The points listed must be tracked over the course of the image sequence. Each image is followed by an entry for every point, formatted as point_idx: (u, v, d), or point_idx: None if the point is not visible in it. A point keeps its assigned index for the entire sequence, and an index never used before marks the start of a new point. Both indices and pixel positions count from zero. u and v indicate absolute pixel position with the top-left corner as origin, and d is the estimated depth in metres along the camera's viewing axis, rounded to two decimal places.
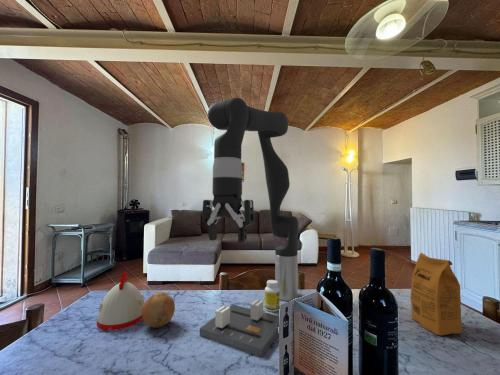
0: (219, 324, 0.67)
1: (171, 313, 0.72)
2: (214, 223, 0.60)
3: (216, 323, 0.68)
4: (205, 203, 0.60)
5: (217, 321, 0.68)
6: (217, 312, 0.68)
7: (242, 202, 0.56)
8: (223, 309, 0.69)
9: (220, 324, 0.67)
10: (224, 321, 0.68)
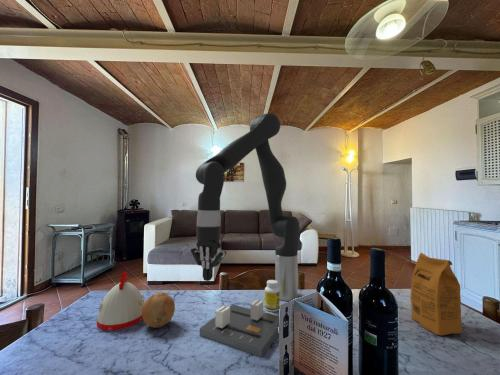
0: (219, 324, 0.67)
1: (171, 313, 0.72)
2: None
3: (216, 323, 0.68)
4: (193, 251, 0.75)
5: (217, 321, 0.68)
6: (217, 312, 0.68)
7: (218, 250, 0.71)
8: (223, 309, 0.69)
9: (220, 324, 0.67)
10: (224, 321, 0.68)
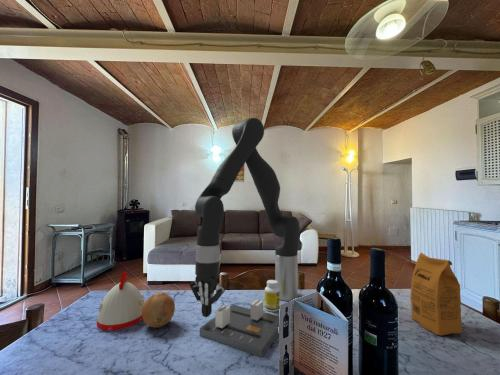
0: (219, 324, 0.67)
1: (171, 313, 0.72)
2: None
3: (216, 323, 0.68)
4: (191, 285, 0.74)
5: (217, 321, 0.68)
6: (217, 312, 0.68)
7: (217, 286, 0.70)
8: (223, 309, 0.69)
9: (220, 324, 0.67)
10: (224, 321, 0.68)
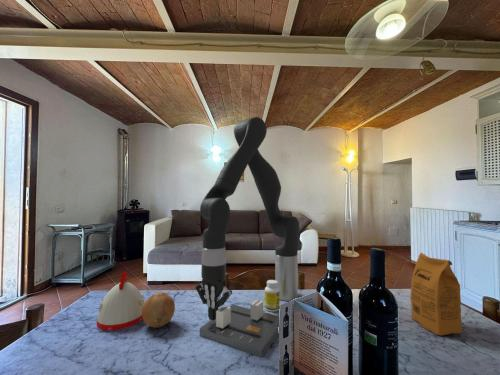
0: (220, 324, 0.67)
1: (171, 313, 0.72)
2: None
3: (217, 323, 0.68)
4: (198, 288, 0.73)
5: (218, 321, 0.68)
6: (218, 312, 0.68)
7: (224, 289, 0.69)
8: (224, 309, 0.69)
9: (220, 324, 0.67)
10: (224, 321, 0.68)
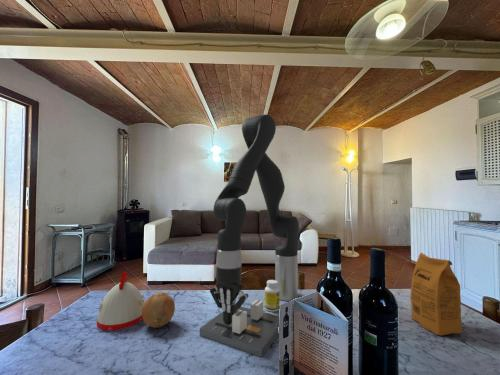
0: (236, 329, 0.65)
1: (171, 313, 0.72)
2: None
3: (233, 328, 0.65)
4: (212, 291, 0.70)
5: (234, 326, 0.65)
6: (234, 317, 0.65)
7: (240, 293, 0.67)
8: (240, 314, 0.66)
9: (237, 329, 0.65)
10: (241, 326, 0.65)
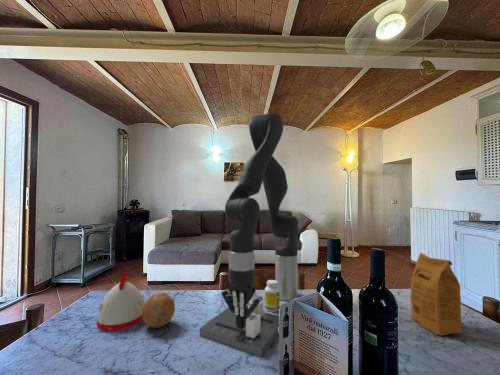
0: (250, 334, 0.63)
1: (171, 313, 0.72)
2: None
3: (247, 333, 0.63)
4: (224, 294, 0.68)
5: (248, 330, 0.63)
6: (248, 321, 0.63)
7: (254, 296, 0.65)
8: (254, 317, 0.64)
9: (251, 334, 0.62)
10: (255, 330, 0.63)
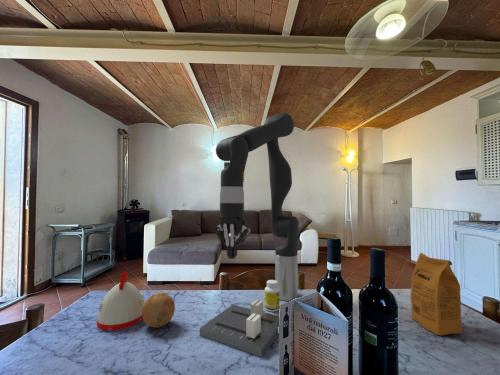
0: (251, 334, 0.63)
1: (171, 313, 0.72)
2: None
3: (247, 333, 0.63)
4: (216, 229, 0.73)
5: (248, 331, 0.63)
6: (248, 321, 0.63)
7: (243, 227, 0.69)
8: (254, 317, 0.64)
9: (251, 334, 0.62)
10: (255, 330, 0.63)
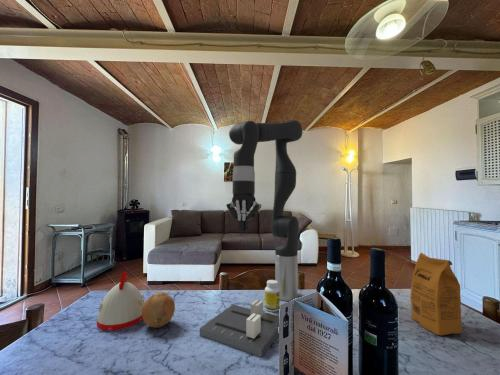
0: (251, 334, 0.63)
1: (171, 313, 0.72)
2: None
3: (247, 333, 0.63)
4: (228, 205, 0.79)
5: (248, 331, 0.63)
6: (248, 321, 0.63)
7: (254, 202, 0.76)
8: (254, 317, 0.64)
9: (251, 334, 0.62)
10: (255, 330, 0.63)
